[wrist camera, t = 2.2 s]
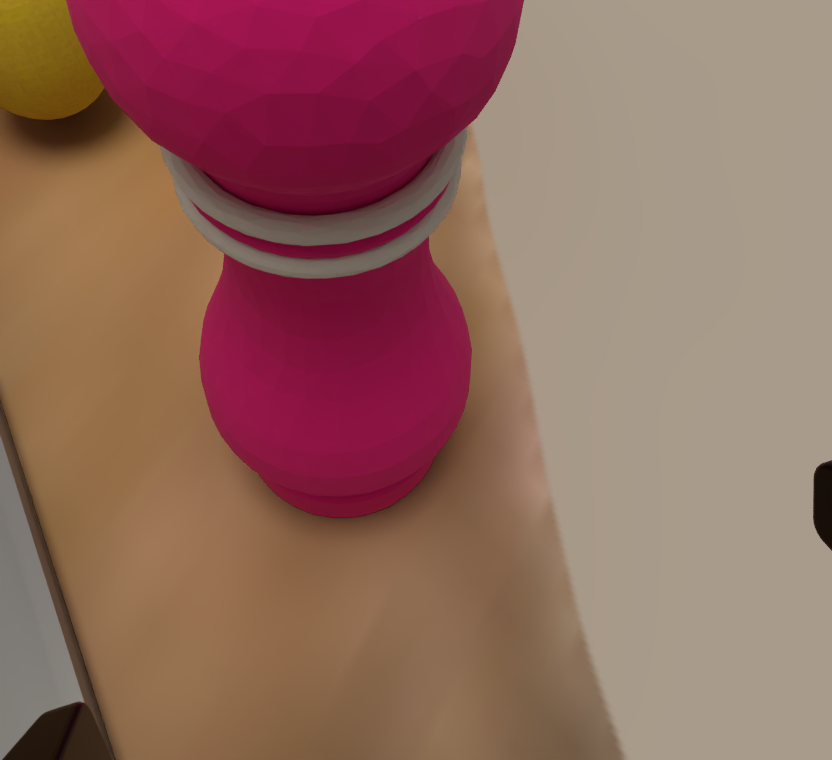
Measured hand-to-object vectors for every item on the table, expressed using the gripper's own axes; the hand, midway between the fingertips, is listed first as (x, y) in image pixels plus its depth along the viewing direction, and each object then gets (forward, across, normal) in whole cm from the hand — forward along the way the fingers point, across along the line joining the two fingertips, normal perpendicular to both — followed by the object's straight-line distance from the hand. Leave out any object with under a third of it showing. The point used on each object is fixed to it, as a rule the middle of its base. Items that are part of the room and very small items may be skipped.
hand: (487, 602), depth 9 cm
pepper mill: (+16, 0, +4) cm, 16 cm away
